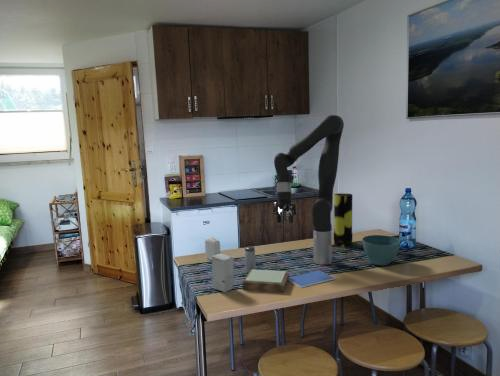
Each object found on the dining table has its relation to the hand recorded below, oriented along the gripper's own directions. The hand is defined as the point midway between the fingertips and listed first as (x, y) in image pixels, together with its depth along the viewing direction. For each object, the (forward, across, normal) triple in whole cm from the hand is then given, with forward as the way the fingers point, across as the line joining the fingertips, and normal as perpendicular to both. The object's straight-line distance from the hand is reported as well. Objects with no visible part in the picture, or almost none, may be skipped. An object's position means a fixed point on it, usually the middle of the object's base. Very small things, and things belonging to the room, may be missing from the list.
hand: (285, 223), depth 209 cm
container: (+12, +50, +2) cm, 52 cm away
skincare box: (+29, -39, +2) cm, 48 cm away
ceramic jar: (+23, -16, +9) cm, 30 cm away
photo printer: (+18, -19, +36) cm, 45 cm away
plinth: (+28, -22, -8) cm, 36 cm away
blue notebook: (+27, -3, -19) cm, 33 cm away
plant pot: (+21, +38, -30) cm, 53 cm away
